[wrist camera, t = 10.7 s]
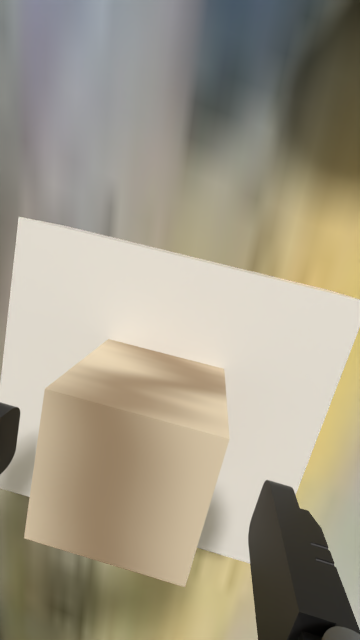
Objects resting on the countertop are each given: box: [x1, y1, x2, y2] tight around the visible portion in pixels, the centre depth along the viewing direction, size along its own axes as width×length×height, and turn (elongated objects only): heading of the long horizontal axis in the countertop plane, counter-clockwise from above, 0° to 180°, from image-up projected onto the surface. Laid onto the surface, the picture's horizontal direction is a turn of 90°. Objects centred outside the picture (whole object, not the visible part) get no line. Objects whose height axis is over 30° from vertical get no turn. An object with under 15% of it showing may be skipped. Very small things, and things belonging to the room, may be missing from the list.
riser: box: [0, 217, 360, 563], centre depth 15 cm, size 14×13×4 cm
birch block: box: [24, 339, 230, 587], centre depth 11 cm, size 5×5×5 cm
